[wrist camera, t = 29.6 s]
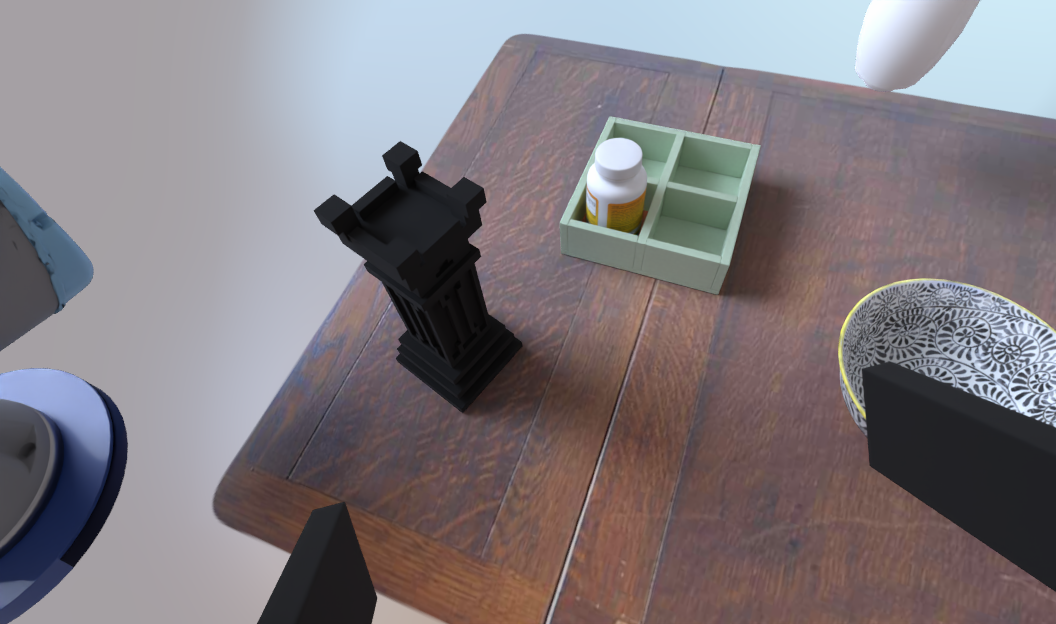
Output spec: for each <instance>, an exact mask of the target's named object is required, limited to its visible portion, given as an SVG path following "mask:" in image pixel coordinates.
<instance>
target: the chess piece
mask: <svg viewBox="0 0 1056 624" xmlns="http://www.w3.org/2000/svg"><path fill="white" fill-rule="evenodd" d="M382 157H383V159H384V162H385V164H386V167H387V169H388V170H389V171H391V172H392V174H393V176H394V179H395V180H393V179H392V178H390V177H388V176H387V177H386V178H385V179H383V180H382V181H381V182H380V183H378V184H377V185H376V186H375V187H374V188H372V189H371V190H370V191H369V192H367V193H366V194H365V195H364V196H363V197H361V198H360V199H359V200H358V201H357V202H355V203H354V204H353V205H352V206H351V205H349V204H348V203H346V202H345V201H343V200H342V199H340V198H339V197H337V196H336V195H333V196H331V197H330V198H329V199H327V200H326V201H325V202H324V203H323V204H321V205H320V206H319V207H317V208H316V209H315V210H314V212H315V214H316V215H317V217H318V219H319V220H320V222H321V224H322V225H324V226H325V227H327V228H328V229H330V230H331V231H332V232H334V233H335V234H337V235H338V236H339V238H340V240H341V241H342V243H343V244H344V245H346V246H347V247H349V248H350V249H351V250H353V251H354V252H356V253H357V254H358V255H360V256H362V257H363V258H364V259H365V260H367V262H366V263H365V264H364V266H365V268H366V269H367V271H368V272H369V273H371V274H372V275H373V276H375V277H376V278H377V279H379V280H380V281H382V283H383V285H384V287H385V289H386V291H387V292H388V294H389V296H390V298H391V300H392V302H393V304H394V306H395V307H396V309H397V311H398V313H399V315H400V317H401V319H402V320H403V322H404V324H405V326H406V328H407V331H406V332H405V333H404V334H403V335H402V336H401V337H400V338H399V339H398V340H399V341H400V343H401V345H400V346H399V347H398V348H397V350H398V351H399V353H400V354H399V355H398V356H397V357H396V359H397V361H398V362H399V363H400V364H401V365H403V366H404V367H405V368H406V369H408V370H409V371H410V372H411V373H413V374H414V375H415V376H416V377H418V378H419V379H420V380H422V381H423V382H424V383H425V384H427V385H428V386H429V387H430V388H432V389H433V390H434V391H435V392H437V393H438V394H439V395H441V396H442V397H443V398H444V399H446V400H447V401H448V402H449V403H451V404H452V405H453V406H454V407H456V408H457V409H458V410H460V411H461V412H462V413H463V412H464V411H465V410H466V409H467V408H468V407H469V405H470V404H471V403H472V402H473V401H474V400H475V399H476V398H477V396H478V395H479V394H480V393H481V392H482V391H483V390H484V389H485V387H486V386H487V385H488V384H489V383H490V382H491V381H492V380H493V379H494V377H495V376H496V375H497V374H498V373H499V372H500V371H501V370H502V368H503V367H504V366H505V365H506V364H507V363H508V362H509V361H510V359H511V358H512V357H513V356H514V355H515V354H516V353H517V352H518V350H519V349H520V348H521V347H522V342H521V341H520V340H518V339H517V338H515V337H514V334H513V333H512V332H510V331H509V330H507V329H506V328H505V325H504V324H502V323H501V322H499V321H498V320H496V319H495V318H493V317H492V316H490V315H489V314H488V312H487V308H486V305H485V301H484V297H483V293H482V290H481V286H480V282H479V279H478V275H477V271H476V267H475V264H474V263H475V262H476V261H477V260H478V259H479V258H480V257H481V255H480V251H479V249H478V248H476V247H475V246H473V245H471V244H470V243H469V241H468V238H469V237H470V236H471V235H472V234H473V233H474V232H475V231H476V230H477V229H479V228H480V227H481V226H482V222H481V218H480V213H479V209H480V208H481V207H482V206H483V205H484V204H485V203H486V197H485V193H484V188H482V187H481V186H479V185H477V184H475V183H474V182H472V181H470V180H468V179H467V178H465V177H463V178H462V179H461V180H460V181H459V182H458V183H457V184H455V185H454V186H453V187H452V188H450V187H448V186H446V185H445V184H443V183H441V182H440V181H438V180H436V179H434V178H433V177H431V176H429V175H428V174H426V173H424V172H421V173H420V174H419V171H418V168H419V167H421V166H422V163H421V160H420V157H419V154H418V151H417V150H415V149H413V148H411V147H410V146H408V145H406V144H404V143H403V142H401V141H400V142H398V143H397V144H396V145H395V146H394V147H392V148H391V149H390V150H389V151H387V152H386V153H385V154H384V155H382Z"/></svg>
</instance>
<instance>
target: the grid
mask: <svg viewBox="0 0 1056 624" xmlns="http://www.w3.org/2000/svg"><path fill="white" fill-rule="evenodd" d="M613 138H625V139H629V140H632V141H634V142H635V143H637V144H638V145H639V146H640V148H641V150H642V154H643V156H642V166H643V167H644V169H645V171H646V173H647V187H646V194H645V201H644V209H643V216H642V223H641V229H640V232H639V235H638V236H637V235H633V234H629V233H625V232H621V231H617V230H613V229H609V228H605V227H601V226H597V225H593V224H589V223H586V193H587V175H588V171H589V169H590V167H591V166H592V165H593V164H594V163H595V153H596V150H597V148H598V146H599V145H600V144H601V143H603V142H604V141H606V140H609V139H613ZM760 147H761V146H760V145H755V144H753V145H752V144H750V143H745V142H740V141H735V140H730V139H724V138H719V137H714V136H709V135H704V134H698V133H693V132H688V131H687V132H686V131H684V130H678V129H673V128H668V127H663V126H657V125H652V124H647V123H642V122H637V121H632V120H626V119H621V118H615V117H609V119H608V121H607V123H606V125H605V127H604V130H603V132H602V134H601V136H600V138H599V140H598V142H597V144H596V147H595V149H594V151H593V153H592V155H591V157H590V159H589V162H588V164H587V166H586V168H585V170H584V172H583V174H582V176H581V179H580V181H579V183H578V185H577V187H576V189H575V191H574V194H573V196H572V198H571V200H570V202H569V204H568V206H567V208H566V211H565V213H564V215H563V217H562V219H561V221H560V240H561V253H562V254H566V255H569V256H573V257H577V258H581V259H584V260H588V261H592V262H596V263H600V264H603V265H607V266H611V267H615V268H618V269H622V270H626V271H630V272H633V273H637V274H641V275H645V276H648V277H652V278H656V279H660V280H664V281H667V282H671V283H675V284H679V285H682V286H686V287H690V288H694V289H697V290H701V291H705V292H709V293H712V294H716V295H718V294H719V291H720V289H721V286H722V284H723V281H724V278H725V276H726V273H727V271H728V268H729V266H730V262H731V258H732V254H733V250H734V247H735V243H736V239H737V235H738V231H739V227H740V224H741V220H742V216H743V212H744V208H745V204H746V201H747V197H748V193H749V189H750V185H751V181H752V177H753V174H754V170H755V166H756V162H757V158H758V154H759V151H760Z"/></svg>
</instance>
